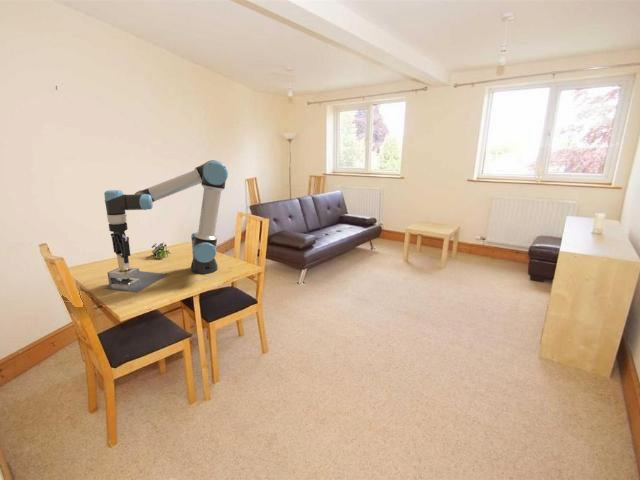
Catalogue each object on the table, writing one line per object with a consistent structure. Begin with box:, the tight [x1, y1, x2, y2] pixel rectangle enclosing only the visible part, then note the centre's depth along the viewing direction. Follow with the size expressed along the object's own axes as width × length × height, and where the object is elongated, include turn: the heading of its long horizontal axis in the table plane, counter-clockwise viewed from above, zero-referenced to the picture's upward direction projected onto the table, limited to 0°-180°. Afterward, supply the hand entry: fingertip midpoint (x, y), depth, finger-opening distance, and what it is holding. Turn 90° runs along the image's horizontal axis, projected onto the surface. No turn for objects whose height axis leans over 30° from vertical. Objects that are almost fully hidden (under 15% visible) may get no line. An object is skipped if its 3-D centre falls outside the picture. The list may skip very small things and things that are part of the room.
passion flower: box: [151, 241, 171, 260], centre depth 204 cm, size 11×11×12 cm
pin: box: [118, 255, 130, 281], centre depth 156 cm, size 4×4×13 cm
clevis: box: [107, 266, 141, 290], centre depth 157 cm, size 10×9×8 cm
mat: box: [103, 270, 170, 293], centre depth 165 cm, size 19×25×1 cm
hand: (124, 267), depth 156 cm, fingers open, 4 cm apart
